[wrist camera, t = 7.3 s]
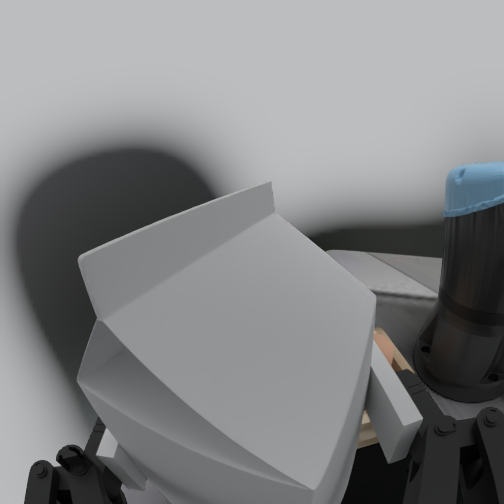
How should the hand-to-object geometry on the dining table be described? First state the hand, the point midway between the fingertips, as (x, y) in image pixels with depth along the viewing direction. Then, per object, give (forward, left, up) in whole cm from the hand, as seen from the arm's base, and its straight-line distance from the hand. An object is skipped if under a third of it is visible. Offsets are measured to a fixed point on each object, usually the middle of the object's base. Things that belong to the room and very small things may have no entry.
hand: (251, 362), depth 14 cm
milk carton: (+2, +4, -11) cm, 12 cm away
